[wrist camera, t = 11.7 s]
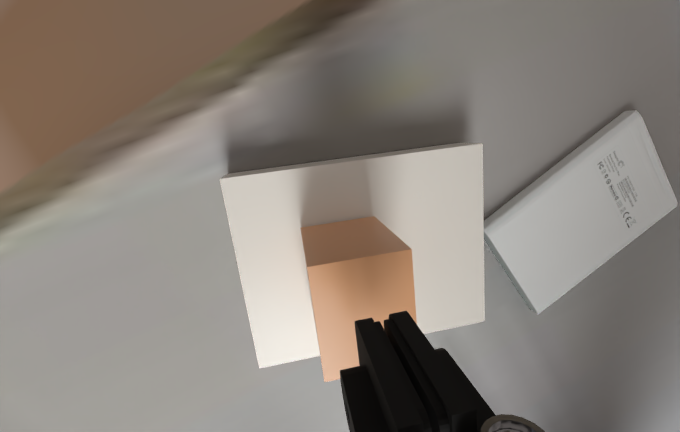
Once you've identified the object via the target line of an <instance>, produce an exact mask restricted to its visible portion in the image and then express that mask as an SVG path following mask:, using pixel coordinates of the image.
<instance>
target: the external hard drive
mask: <svg viewBox="0 0 680 432" xmlns="http://www.w3.org/2000/svg"><path fill="white" fill-rule="evenodd" d="M677 205H678V201H677V199H676V197H675V194H674V192H673V189H672V187H671V185H670V183H669V180H668V178H667V176H666V173H665V171H664V168H663V166H662V164H661V161H660V159H659V156H658V154H657V151H656V149H655V146H654V144H653V142H652V139H651V137H650V135H649V132H648V130H647V127H646V125H645V122H644V120H643V118H642V116H641V115H640V114H639V112H638V111H636V110H632V111H624V112H623V113H621V114H620V115H619V116H618V117H616V118H615V119H614V120H612V121H611V122H610V123H609V124H607V125H606V126H605V127H603V128H602V129H601V130H599V131H598V132H597V133H596V134H594V135H593V136H592V137H590V138H589V139H588V140H587V141H585V142H584V143H583V144H581V145H580V146H579V147H578V148H576V149H575V150H574V151H572V152H571V153H570V154H568V155H567V156H566V157H565V158H563V159H562V160H561V161H560V162H558V163H557V164H556V165H554V166H553V167H552V168H551V169H549V170H548V171H547V172H545V173H544V174H543V175H542V176H540V177H539V178H538V179H537V180H535V181H534V182H533V183H531V184H530V185H529V186H528V187H526V188H525V189H524V190H522V191H521V192H520V193H519V194H517V195H516V196H515V197H513V198H512V199H511V200H510V201H508V202H507V203H506V204H504V205H503V206H502V207H501V208H499V209H498V210H497V211H496V212H494V213H493V214H492V215H490V216H489V217H488V218H487V219H485V220H484V240H485V241H486V243H487V244H488V246H489V247H490V249H491V250H492V252H493V253H494V255H495V256H496V258H497V259H498V261H499V262H500V264H501V266H502V267H503V269H504V270H505V272H506V273H507V275H508V276H509V278H510V279H511V281H512V282H513V284H514V286H515V287H516V289H517V290H518V292H519V293H520V295H521V296H522V298H523V299H524V301H525V302H526V304H527V306H528V307H529V309H530V310H532V311H533V312H535V313H536V314H540V313H541V312H542V311H543V310H545V309H546V308H547V307H548V306H550V305H551V304H552V303H554V302H555V301H556V300H558V299H559V298H560V297H561V296H563V295H564V294H565V293H566V292H568V291H569V290H570V289H572V288H573V287H574V286H575V285H577V284H578V283H579V282H581V281H582V280H583V279H584V278H586V277H587V276H588V275H590V274H591V273H592V272H593V271H595V270H596V269H597V268H599V267H600V266H601V265H602V264H604V263H605V262H606V261H608V260H609V259H610V258H611V257H613V256H614V255H615V254H617V253H618V252H619V251H620V250H622V249H623V248H624V247H626V246H627V245H628V244H629V243H631V242H632V241H633V240H635V239H636V238H637V237H638V236H640V235H641V234H642V233H644V232H645V231H646V230H647V229H649V228H650V227H651V226H652V225H654V224H655V223H656V222H657V221H659V220H660V219H661V218H663V217H664V216H665V215H667V214H668V213H669V212H671V211H672V210H673V209H674V208H676V207H677Z"/></svg>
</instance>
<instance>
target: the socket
mask: <svg viewBox="0 0 680 432" xmlns="http://www.w3.org/2000/svg"><path fill="white" fill-rule="evenodd" d="M220 183H221V188H222V193H223V197H224V202H225V207H226V212H227V216H228V221H229V226H230V231H231V236H232V240H233V245H234V250H235V255H236V259H237V264H238V269H239V274H240V278H241V283H242V288H243V293H244V298H245V302H246V307H247V312H248V317H249V321H250V326H251V331H252V336H253V340H254V345H255V350H256V355H257V360H258V364H259V368H264V367H268V366H273V365H278V364H283V363H288V362H292V361H297V360H302V359H307V358H312V357H316V356H320V351H319V345H318V339H317V332H316V326H315V320H314V314H313V308H312V301H311V294H310V288H309V281H308V275H307V268H306V262H305V255H304V249H303V242H302V235H301V229H300V228H302V227H308V226H315V225H321V224H327V223H334V222H340V221H347V220H353V219H360V218H366V217H372V216H375V217H376V218H377V219H378V220H379V221H380V222H381V223H383V224H384V225H385V226H386V227H387V228H388V229H389V230H391V231H392V232H393V233H394V234H395V235H396V236H397V237H399V238H400V239H401V240H402V241H403V242H404V243H405V244H406V245H408V246H409V247H410V248H411V249H412V260H413V275H414V290H415V305H416V320H417V326H418V327H419V328H420V330H421V331H422V333H423V334H427V333H431V332H436V331H441V330H446V329H451V328H455V327H460V326H465V325H470V324H474V323H479V322H484V321H485V296H484V214H483V143H453V144H446V145H438V146H431V147H423V148H416V149H408V150H401V151H393V152H386V153H378V154H371V155H364V156H356V157H349V158H341V159H334V160H326V161H319V162H311V163H304V164H296V165H289V166H281V167H274V168H266V169H259V170H251V171H244V172H236V173H229V174H227V175H225V176H223V177H222V178H220Z"/></svg>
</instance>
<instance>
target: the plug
mask: <svg viewBox="0 0 680 432" xmlns="http://www.w3.org/2000/svg"><path fill="white" fill-rule="evenodd" d="M300 229H301V235H302V242H303V249H304V255H305V262H306V268H307V275H308V281H309V288H310V294H311V301H312V308H313V314H314V320H315V326H316V332H317V339H318V345H319V351H320V357H321V363H322V369H323V375H324V382H328V381H333V380H337V379H340V370H343V369H348V368H352V367H357V366H360V365H359V357H358V349H357V340H356V332H355V321H357V320H362V319H367V318H373V320H374V322H376V321H380V323H381V324H382V326H383V328H384V320H386V319H389V314H392V313H397V312H402V311H407V312H408V313H409V314H410V316H411V317H412V318H413V320H414V321H415V323H416V324H417V320H416V305H415V290H414V275H413V260H412V249H411V248H410V247H409V246H408V245H406V244H405V243H404V242H403V241H402V240H401V239H400V238H399V237H397V236H396V235H395V234H394V233H393V232H392V231H391V230H389V229H388V228H387V227H386V226H385V225H384V224H383V223H381V222H380V221H379V220H378V219H377V218H376V217H375V216H372V217H366V218H360V219H353V220H347V221H340V222H334V223H327V224H321V225H315V226H308V227H302V228H300Z"/></svg>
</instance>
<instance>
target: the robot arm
mask: <svg viewBox="0 0 680 432" xmlns="http://www.w3.org/2000/svg"><path fill="white" fill-rule="evenodd" d="M355 332H356V340H357V349H358V357H359V365H360V366H357V367H352V368H348V369H343V370H340V379H341V387H342V393H343V400H344V406H345V411H346V416H347V421H348V426H349V430H350V432H545V431H544V430H542V429H541V428H540V427H538V426H537V425H536V424H534V423H533V422H531V421H529V420H526V419H524V418H522V417H518V416H514V415H503V414H501V415H497V416H496V415H495V414H494V413H493V411H492V410H491V409H490V407H489V406H488V405H487V403H486V402H485V401H484V399H483V398H482V397H481V395H480V394H479V393H478V391H477V390H476V389H475V387H474V386H473V385H472V383H471V382H470V381H469V380H468V378H467V377H466V376H465V374H464V373H463V372H462V370H461V369H460V368H459V366H458V365H457V364H456V362H455V361H454V360H453V358H452V357H451V356H450V354H449V353H448V352H447V351H446V350H445V349H443V348H440V349H435V350H434V348H433V347H432V345H431V344H430V343H429V341H428V340H427V338H426V337H425V335H424V334H423V333H422V331H421V330H420V328H419V327H418V326H417V324H416V323H415V321H414V320H413V318H412V317H411V316H410V314H409V313H408V312H407V311H402V312H397V313H392V314H389V319H386V320H384V328H383V326H382V324H381V323H380V321H376V322H374V320H373V318H367V319H362V320H357V321H355Z"/></svg>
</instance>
